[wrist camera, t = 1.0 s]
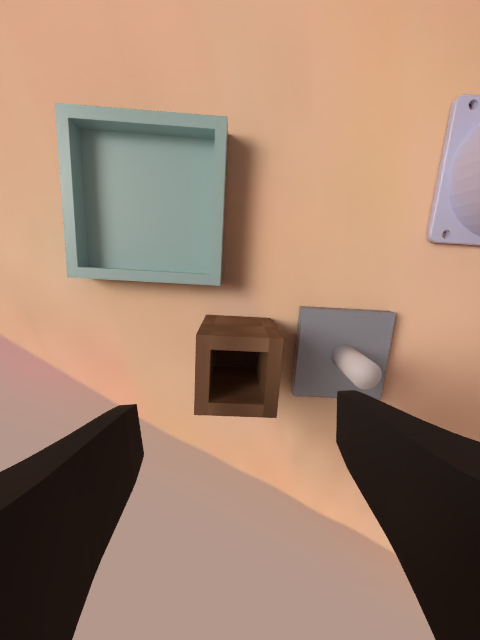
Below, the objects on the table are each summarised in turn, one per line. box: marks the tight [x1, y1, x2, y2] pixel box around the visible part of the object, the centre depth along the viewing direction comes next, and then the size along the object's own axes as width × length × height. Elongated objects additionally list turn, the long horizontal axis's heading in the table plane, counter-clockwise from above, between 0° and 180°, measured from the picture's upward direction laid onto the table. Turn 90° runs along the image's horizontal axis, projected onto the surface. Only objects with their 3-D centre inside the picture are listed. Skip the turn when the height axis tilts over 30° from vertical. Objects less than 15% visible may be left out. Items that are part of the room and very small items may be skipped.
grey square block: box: [291, 306, 396, 400], centre depth 17 cm, size 6×6×4 cm
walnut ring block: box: [194, 315, 284, 418], centre depth 16 cm, size 4×4×5 cm
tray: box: [55, 103, 228, 286], centre depth 15 cm, size 9×9×2 cm
